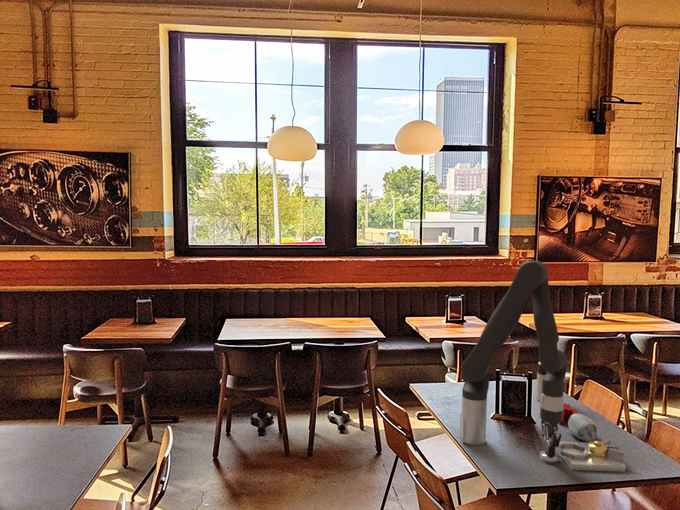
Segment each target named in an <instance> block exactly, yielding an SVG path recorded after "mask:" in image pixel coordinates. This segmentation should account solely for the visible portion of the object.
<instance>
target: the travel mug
mask: <svg viewBox="0 0 680 510" xmlns="http://www.w3.org/2000/svg"><path fill="white" fill-rule="evenodd" d="M537 363H538V368H537V372H536V373H537V374H536V392H535V393H536V395H535V399H536V401H538V402H540V403H541V395H542V381H543V378H544V377H545V375H546V371H545V370H544V369H543V367H542V366H541V363H540V361H539V362H537Z"/></svg>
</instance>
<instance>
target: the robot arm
mask: <svg viewBox="0 0 680 510" xmlns="http://www.w3.org/2000/svg"><path fill="white" fill-rule="evenodd" d="M530 296H531V300H532V309H533V313H532V314H533V322H534V327H535V333H536V336H537V339H538V359H539V362H540V363H541V366H542V367H543V369H544V370H545V371H546V375H545V377H544V378H543V381H542V395H541V402H540V403H539V404H540V405H539V406H540V407H539V410H540V411H539V418H540V419H541V420H540V424H541V434H542V435H541V436H542V438H543V441H544V446H545V445H546V439H548V445H549V446H548V456H549V457H555V453H556V450H555V447H559V443H560V442H561V438H562V433H559V426H558V425H559V423H561V422H562V421H563V407H564V404H565V402H564V401H565V400H564V382H565V379H566V374H567V368H568V359H567V356H566V354H565V352H563V351H562V350H561V349H558V343H559V341H560V336H559V332H558V331H559V330H558V326H557V323H556V319H555V314H554V310H553V307H552V302H551V296H550V285H549V272H548V268H547V266H546V265H545V264H544V263H543V262H542V261H540V260H527V261H524V262H523V263H522V264H521V265H520V266H519V267H518V268H517V271H516V273H515V275H514V277H513V280H512V282H511V284H510V286H509V288H508V290H507V291H506V293H505V294H504V296H503V297H502V298H501V300H500V302H499V303H498V305H497V306H496V308H495V309H494V310H493V312H492V314H491V316H490V318H489V319H488V320H487V323H486V324H485V326H484V328H483V330H482V332H481V334H480V337H479V339H478V341H477V343H476V344H475V345H474V347H473V348H472V350H471V352H470V353H469V354H468V355H467V357H466V358H465V359H464V360H463V362H462V363H461V366H460V368H461V369H460V370H461V371H460V372H461V375H462V377H463V378H464V383H463V387H462V392H461V393H462V394H461V412H460V416H459V417H460V418H459V424H460V425H459V438H460V440H461V443H462V444H466V445H471V446H482V445H484V444H486V441H487V439H486V438H487V411H488V410H487V407H488V406H487V405H488V404H487V403H488V391H489V388H490V375H491V373H490V370H491V368H490V363H491V361H492V360H493V358H494V356H495V354H496V353H498V352H499V349H501V347H503V345H504V344H505V343H506V341H507V340H508V339H509V338H510V336H512V335H511V334H512V333H513V331H514V330H515V328H516V327H517V325H518V323H519V321H520V319H521V316H522V314H523V312H524V308H525V305H526V303H527V301H528V299H529V298H530ZM543 451H545V448H544V450H543Z"/></svg>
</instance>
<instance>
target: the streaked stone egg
mask: <svg viewBox="0 0 680 510" xmlns="http://www.w3.org/2000/svg"><path fill="white" fill-rule="evenodd" d="M567 423H568V429H569V432H570V433H571V434H572V435H573V436H575V437H576V438H577V439H579V440H581V441H583V442H585V443H589V442H594V441H596V439H597V436H598V428H597V425H596V423H595V422H594V420H592V418H590V417H588V416H586V415H585V414H582V413H578V414H573V415H571V417H570V418H569V421H567Z"/></svg>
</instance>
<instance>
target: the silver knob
mask: <svg viewBox="0 0 680 510" xmlns="http://www.w3.org/2000/svg"><path fill="white" fill-rule="evenodd" d="M548 446H549V445H548V439H546V445H545V444H544V449H545V450H541V451H540V452H539V460H540V461H541V462H544V463H546V464H550V465H556V464H559V463H560V455H559V454H558V453H557V452H555V457H549V456H548Z"/></svg>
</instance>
